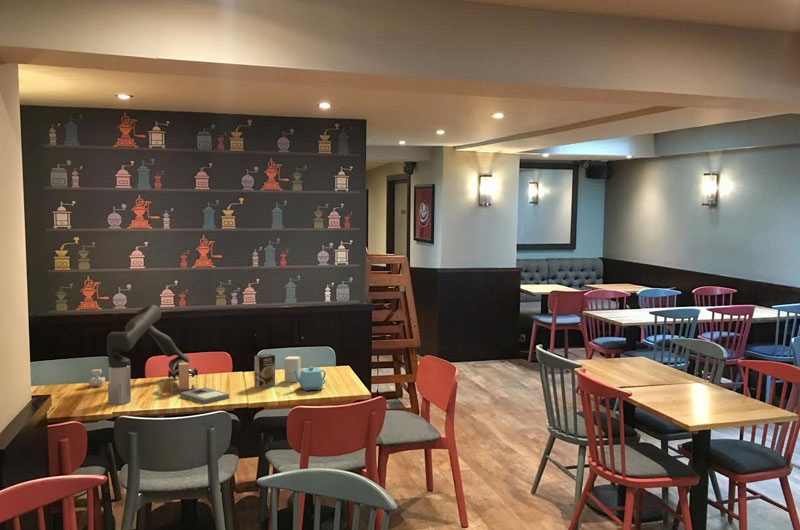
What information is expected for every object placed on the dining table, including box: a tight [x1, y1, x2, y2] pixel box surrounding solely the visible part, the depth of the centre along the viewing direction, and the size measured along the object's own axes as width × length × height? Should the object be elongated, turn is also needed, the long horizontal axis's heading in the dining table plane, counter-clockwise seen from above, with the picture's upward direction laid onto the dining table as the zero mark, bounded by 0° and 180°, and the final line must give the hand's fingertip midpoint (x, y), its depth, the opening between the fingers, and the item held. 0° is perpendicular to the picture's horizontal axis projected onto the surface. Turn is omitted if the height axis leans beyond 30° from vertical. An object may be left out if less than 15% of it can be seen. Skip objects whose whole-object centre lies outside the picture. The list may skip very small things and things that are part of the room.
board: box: [179, 387, 230, 405], centre depth 314 cm, size 20×14×2 cm
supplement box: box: [284, 355, 302, 383], centre depth 349 cm, size 7×7×13 cm
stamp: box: [88, 368, 106, 387], centre depth 334 cm, size 9×7×8 cm
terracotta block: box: [178, 363, 190, 390], centre depth 325 cm, size 4×4×14 cm
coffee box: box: [253, 353, 276, 389], centre depth 336 cm, size 9×6×16 cm
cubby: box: [172, 384, 196, 395], centre depth 325 cm, size 9×10×2 cm
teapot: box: [292, 365, 327, 392], centre depth 331 cm, size 12×18×12 cm
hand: (183, 376), depth 323 cm, fingers open, 8 cm apart
